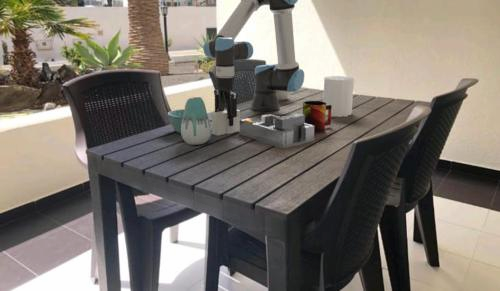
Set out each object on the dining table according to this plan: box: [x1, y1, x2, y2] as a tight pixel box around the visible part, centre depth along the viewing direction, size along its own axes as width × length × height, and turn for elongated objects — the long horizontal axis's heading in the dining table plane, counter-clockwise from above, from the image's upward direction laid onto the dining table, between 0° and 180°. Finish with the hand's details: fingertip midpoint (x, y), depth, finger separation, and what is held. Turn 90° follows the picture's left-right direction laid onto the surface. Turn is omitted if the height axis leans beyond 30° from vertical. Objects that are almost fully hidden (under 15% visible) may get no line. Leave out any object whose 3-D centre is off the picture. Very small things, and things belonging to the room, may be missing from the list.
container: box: [322, 75, 355, 118], centre depth 204 cm, size 14×14×18 cm
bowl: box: [167, 108, 185, 134], centre depth 174 cm, size 16×16×8 cm
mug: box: [302, 100, 332, 134], centre depth 176 cm, size 10×14×12 cm
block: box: [211, 109, 241, 136], centre depth 172 cm, size 4×12×9 cm, turn 129°
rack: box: [238, 113, 316, 150], centre depth 165 cm, size 27×17×10 cm, turn 39°
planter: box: [277, 90, 291, 102], centre depth 241 cm, size 17×17×15 cm
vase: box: [180, 96, 212, 146], centre depth 157 cm, size 12×12×18 cm
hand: (225, 131), depth 173 cm, fingers open, 5 cm apart
